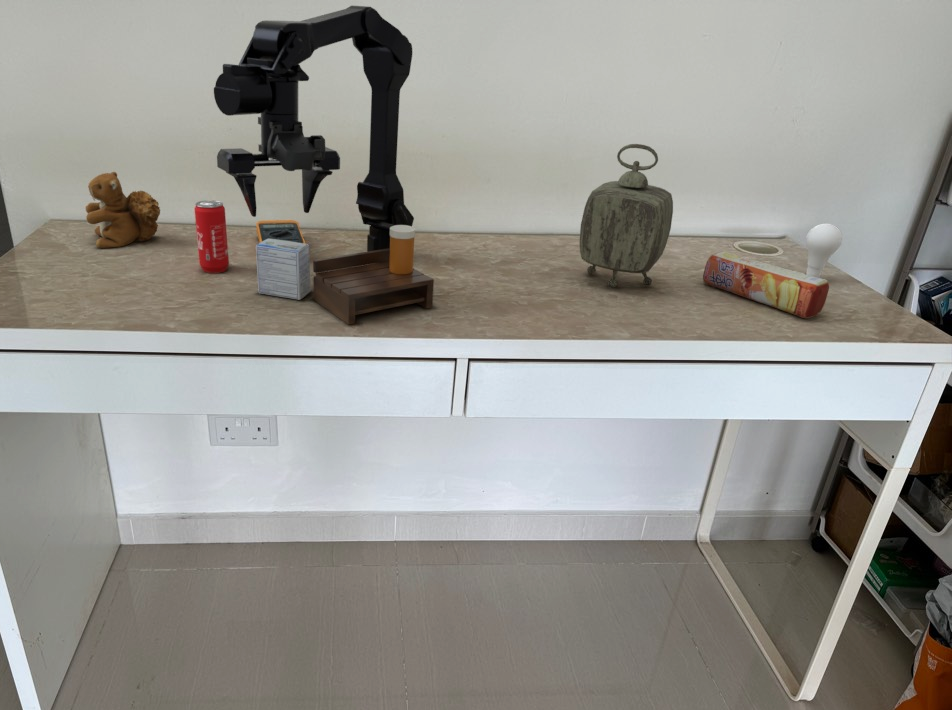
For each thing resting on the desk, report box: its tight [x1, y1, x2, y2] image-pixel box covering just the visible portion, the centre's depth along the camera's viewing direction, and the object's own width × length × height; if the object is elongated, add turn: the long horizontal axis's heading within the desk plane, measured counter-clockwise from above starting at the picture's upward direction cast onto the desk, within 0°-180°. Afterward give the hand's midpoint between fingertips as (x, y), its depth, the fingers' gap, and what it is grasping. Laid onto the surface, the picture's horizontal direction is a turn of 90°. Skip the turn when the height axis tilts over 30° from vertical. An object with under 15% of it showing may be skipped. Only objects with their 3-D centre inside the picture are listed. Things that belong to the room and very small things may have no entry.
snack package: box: [702, 250, 830, 319], centre depth 137 cm, size 21×7×7 cm, turn 36°
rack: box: [312, 248, 435, 326], centre depth 127 cm, size 16×12×7 cm
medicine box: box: [255, 239, 312, 301], centre depth 129 cm, size 8×4×9 cm, turn 71°
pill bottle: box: [389, 225, 416, 274], centre depth 128 cm, size 4×4×7 cm
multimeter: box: [255, 219, 307, 244], centre depth 152 cm, size 9×18×3 cm, turn 13°
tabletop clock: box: [579, 143, 674, 289], centre depth 137 cm, size 14×9×25 cm, turn 62°
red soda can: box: [194, 199, 230, 274], centre depth 138 cm, size 5×5×12 cm
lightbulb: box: [805, 222, 843, 278], centre depth 148 cm, size 6×6×11 cm
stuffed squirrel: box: [85, 171, 161, 249], centre depth 150 cm, size 10×14×13 cm
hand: (280, 214), depth 125 cm, fingers open, 9 cm apart
